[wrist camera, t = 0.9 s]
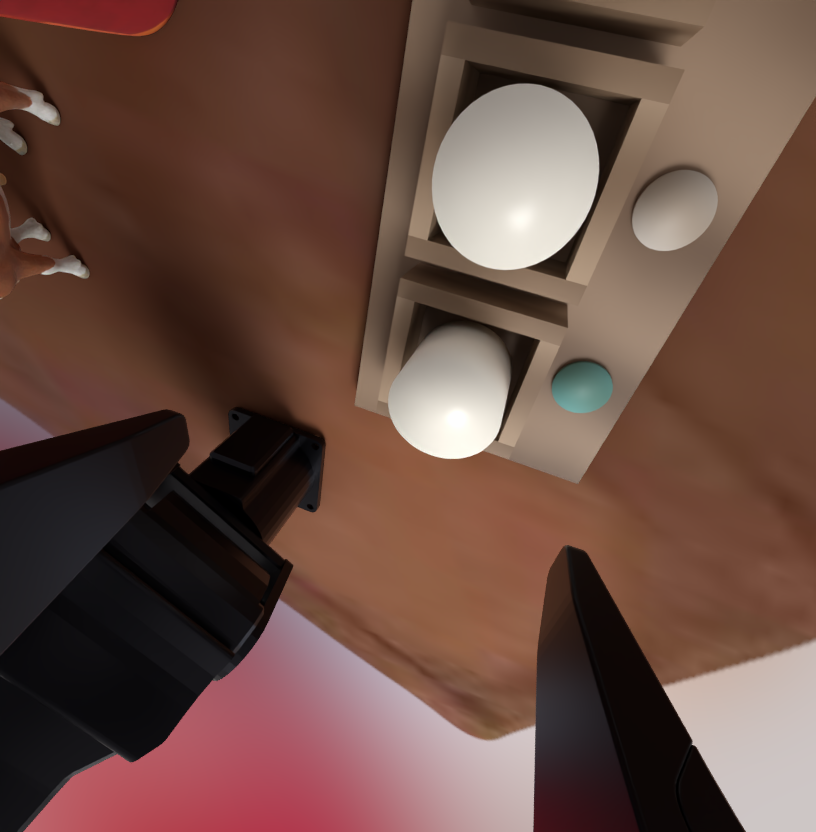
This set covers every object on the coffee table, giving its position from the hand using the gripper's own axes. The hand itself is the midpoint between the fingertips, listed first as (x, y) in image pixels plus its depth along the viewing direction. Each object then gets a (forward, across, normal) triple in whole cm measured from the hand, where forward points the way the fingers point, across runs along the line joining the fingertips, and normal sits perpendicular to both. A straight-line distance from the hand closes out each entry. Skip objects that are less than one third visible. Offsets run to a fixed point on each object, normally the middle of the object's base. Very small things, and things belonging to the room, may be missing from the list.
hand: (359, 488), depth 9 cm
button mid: (+9, -1, -6) cm, 11 cm away
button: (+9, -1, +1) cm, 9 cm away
